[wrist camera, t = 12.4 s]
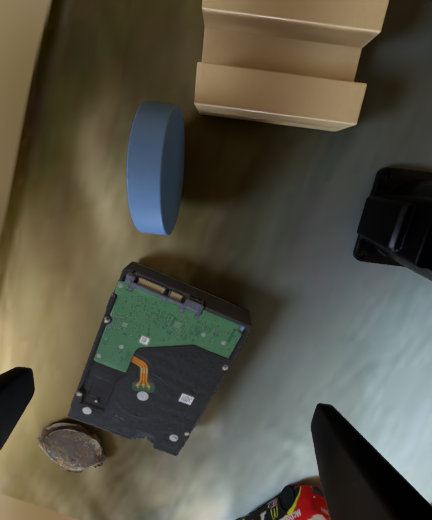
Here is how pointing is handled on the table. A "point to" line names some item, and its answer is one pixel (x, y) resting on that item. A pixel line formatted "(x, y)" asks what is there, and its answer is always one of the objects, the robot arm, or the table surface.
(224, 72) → the rack
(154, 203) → the blue disc
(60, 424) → the decorative disc
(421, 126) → the table surface
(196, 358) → the disk drive
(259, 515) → the race car
